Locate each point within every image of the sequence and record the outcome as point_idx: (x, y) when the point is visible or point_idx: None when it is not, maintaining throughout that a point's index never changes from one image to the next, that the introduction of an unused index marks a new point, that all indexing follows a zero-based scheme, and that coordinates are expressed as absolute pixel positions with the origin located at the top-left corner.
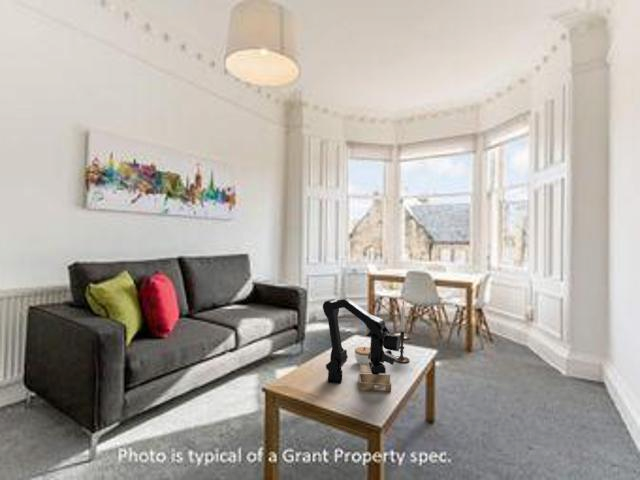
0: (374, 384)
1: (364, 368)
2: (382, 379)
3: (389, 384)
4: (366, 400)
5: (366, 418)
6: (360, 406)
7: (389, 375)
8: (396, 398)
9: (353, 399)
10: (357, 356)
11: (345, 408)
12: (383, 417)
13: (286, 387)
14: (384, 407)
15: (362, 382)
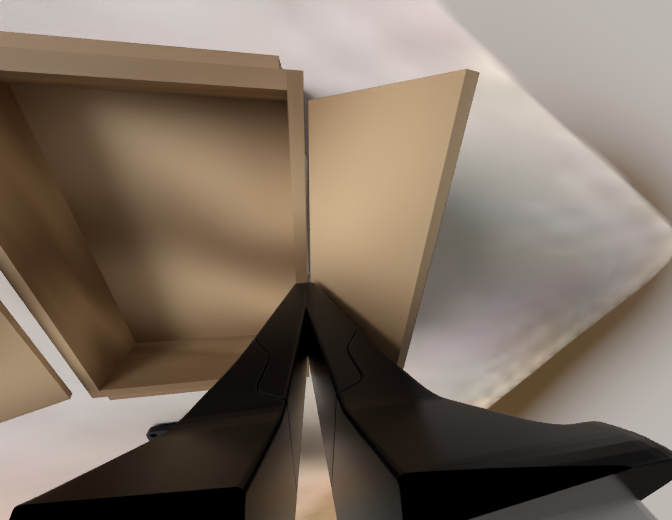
0: (306, 277)
1: None
2: (354, 231)
3: (302, 97)
4: (437, 298)
5: (601, 299)
6: (493, 324)
7: (467, 102)
8: (438, 50)
9: (417, 353)
10: None
11: (492, 373)
12: (639, 220)
13: (317, 514)
14: (546, 199)
15: (177, 327)
